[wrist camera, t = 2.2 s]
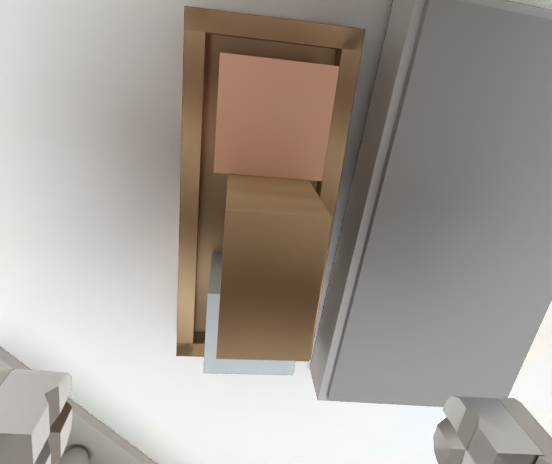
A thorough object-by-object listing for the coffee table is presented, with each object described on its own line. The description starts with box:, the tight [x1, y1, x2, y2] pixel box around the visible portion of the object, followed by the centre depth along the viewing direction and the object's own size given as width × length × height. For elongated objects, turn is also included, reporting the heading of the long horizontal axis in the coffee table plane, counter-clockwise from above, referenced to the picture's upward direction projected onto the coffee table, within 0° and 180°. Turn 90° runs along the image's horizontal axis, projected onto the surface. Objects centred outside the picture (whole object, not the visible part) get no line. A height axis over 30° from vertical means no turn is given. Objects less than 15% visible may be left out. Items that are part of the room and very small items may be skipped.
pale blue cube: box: [203, 252, 295, 375], centre depth 20 cm, size 4×4×4 cm
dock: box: [310, 0, 552, 407], centre depth 21 cm, size 20×11×3 cm, turn 171°
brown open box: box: [176, 6, 365, 361], centre depth 17 cm, size 16×7×10 cm, turn 174°
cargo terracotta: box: [214, 52, 339, 181], centre depth 17 cm, size 4×4×4 cm
